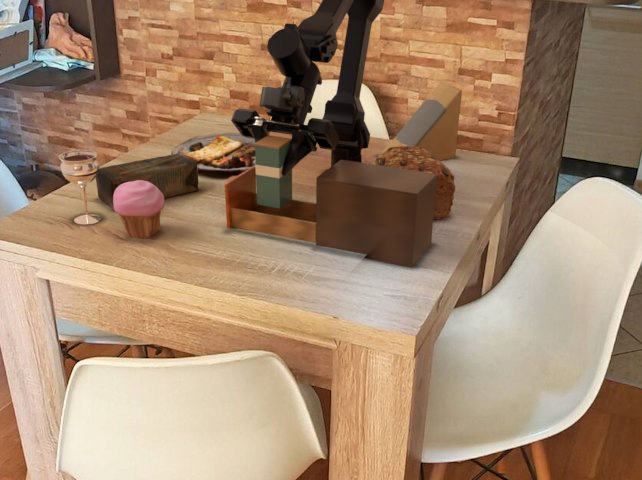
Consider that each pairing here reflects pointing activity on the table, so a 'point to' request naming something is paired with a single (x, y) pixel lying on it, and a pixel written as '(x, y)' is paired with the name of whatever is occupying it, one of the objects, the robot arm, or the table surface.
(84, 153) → the wineglass
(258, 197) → the long rectangular block
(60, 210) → the table surface
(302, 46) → the robot arm
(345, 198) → the brown cupboard
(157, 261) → the table surface
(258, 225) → the drawer
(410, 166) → the bread
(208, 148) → the food plate
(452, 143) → the sandwich container
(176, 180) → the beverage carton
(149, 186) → the cupcake
